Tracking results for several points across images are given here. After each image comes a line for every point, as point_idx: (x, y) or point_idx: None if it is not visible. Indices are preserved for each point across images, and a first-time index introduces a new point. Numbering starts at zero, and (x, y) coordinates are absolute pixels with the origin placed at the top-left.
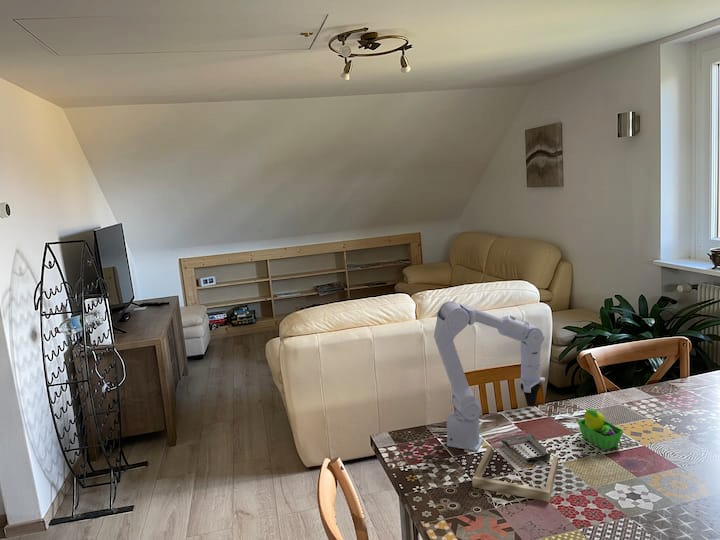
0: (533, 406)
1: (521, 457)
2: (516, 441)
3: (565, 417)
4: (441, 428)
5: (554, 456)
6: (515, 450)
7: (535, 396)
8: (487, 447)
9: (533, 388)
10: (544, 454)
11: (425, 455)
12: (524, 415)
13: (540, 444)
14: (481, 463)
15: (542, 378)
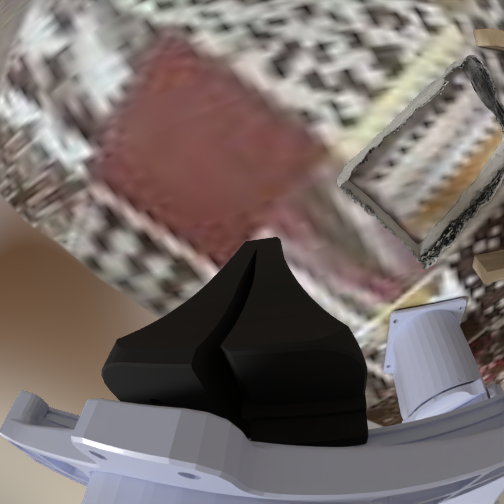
0: (280, 243)
1: (500, 163)
2: (381, 213)
3: (62, 126)
4: None
5: (497, 42)
6: (487, 195)
7: (301, 288)
8: (493, 281)
9: (364, 391)
10: (432, 84)
11: (482, 364)
12: (140, 257)
13: (417, 108)
14: None
15: (147, 474)
